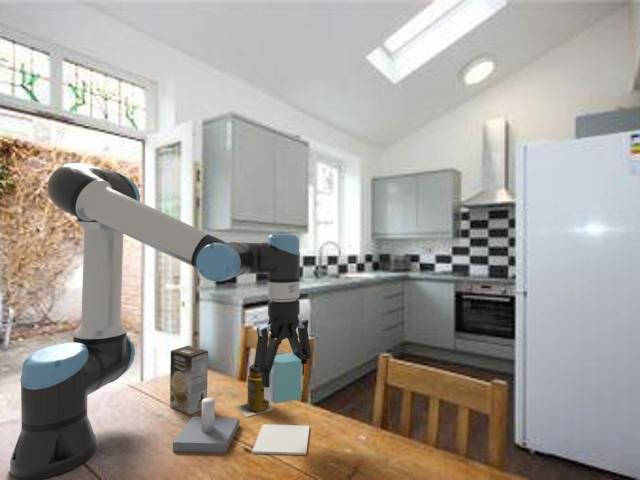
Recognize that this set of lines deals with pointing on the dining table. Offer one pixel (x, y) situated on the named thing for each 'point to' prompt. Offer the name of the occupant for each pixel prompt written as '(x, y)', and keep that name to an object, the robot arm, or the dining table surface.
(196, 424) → the post base
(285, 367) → the teal rectangular block
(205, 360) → the coffee box
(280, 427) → the mat
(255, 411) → the condiment
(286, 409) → the dining table surface
